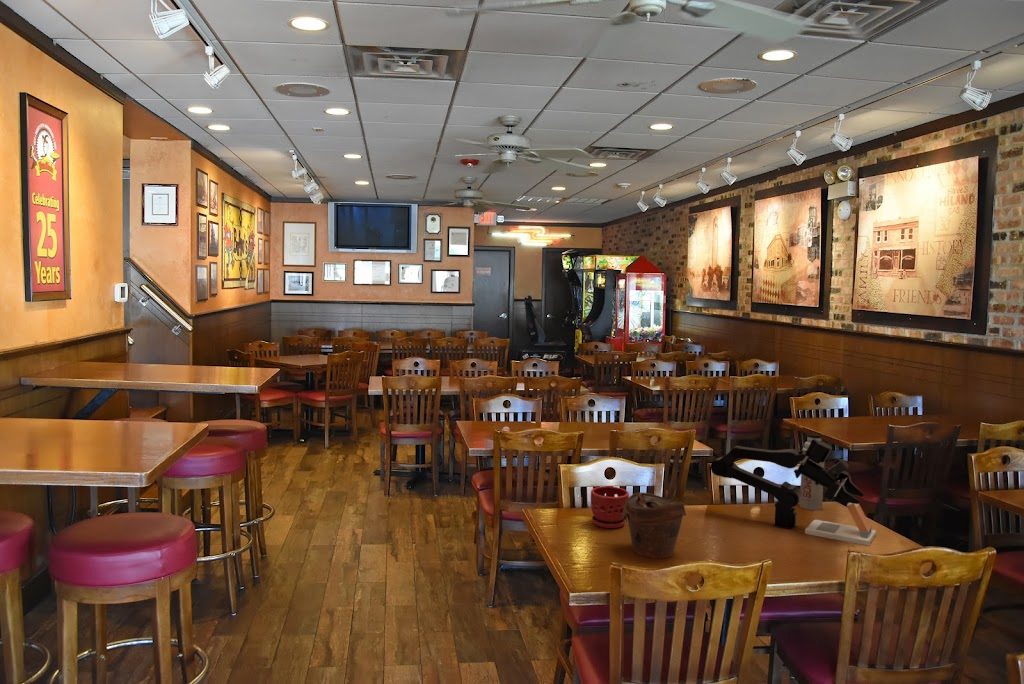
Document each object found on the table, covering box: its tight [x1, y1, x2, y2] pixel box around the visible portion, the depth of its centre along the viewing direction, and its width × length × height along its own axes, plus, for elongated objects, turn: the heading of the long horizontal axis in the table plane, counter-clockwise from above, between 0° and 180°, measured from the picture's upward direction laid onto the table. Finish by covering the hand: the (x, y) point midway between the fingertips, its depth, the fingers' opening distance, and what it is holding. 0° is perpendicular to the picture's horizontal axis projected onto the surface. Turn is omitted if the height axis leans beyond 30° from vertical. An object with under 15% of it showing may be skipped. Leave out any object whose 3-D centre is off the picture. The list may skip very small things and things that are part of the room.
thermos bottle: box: [799, 433, 825, 511], centre depth 298 cm, size 8×8×28 cm
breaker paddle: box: [846, 503, 872, 533], centre depth 263 cm, size 3×6×11 cm, turn 146°
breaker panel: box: [804, 519, 877, 546], centre depth 267 cm, size 20×14×4 cm
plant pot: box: [590, 485, 630, 529], centre depth 271 cm, size 13×13×12 cm
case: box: [621, 491, 687, 559], centre depth 245 cm, size 18×20×18 cm
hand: (861, 499), depth 262 cm, fingers open, 9 cm apart
